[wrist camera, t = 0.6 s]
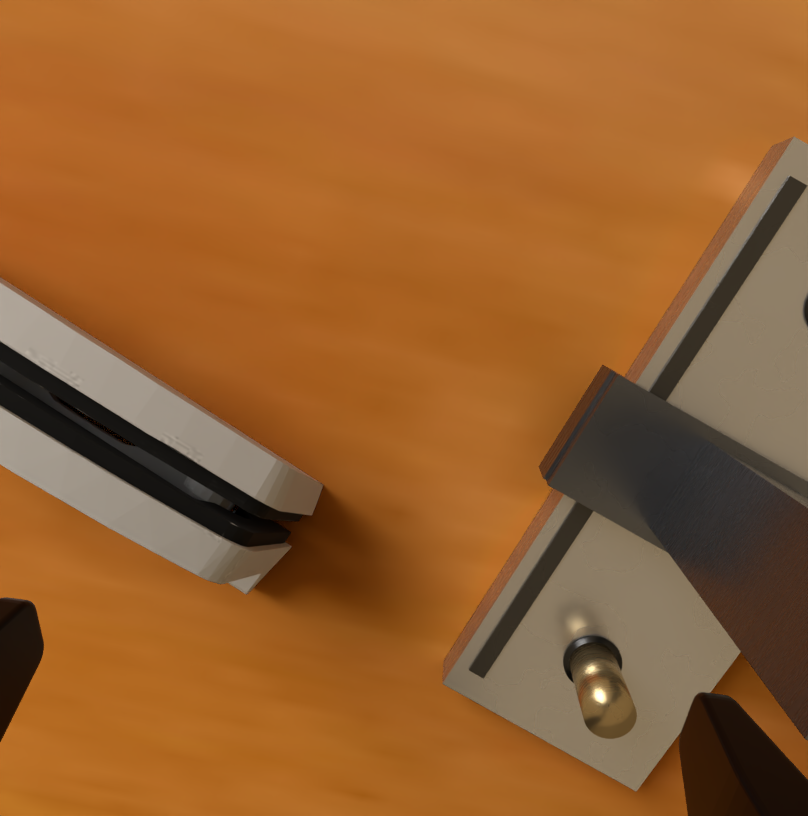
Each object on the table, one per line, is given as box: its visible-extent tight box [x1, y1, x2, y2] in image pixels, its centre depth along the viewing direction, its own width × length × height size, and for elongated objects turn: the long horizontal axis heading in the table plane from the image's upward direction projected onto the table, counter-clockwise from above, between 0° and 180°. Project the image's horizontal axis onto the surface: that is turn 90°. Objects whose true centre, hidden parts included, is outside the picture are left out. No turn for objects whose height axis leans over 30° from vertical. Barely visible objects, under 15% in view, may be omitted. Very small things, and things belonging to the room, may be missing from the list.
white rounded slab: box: [0, 277, 323, 595], centre depth 21 cm, size 17×5×10 cm, turn 57°
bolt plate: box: [443, 137, 808, 791], centre depth 22 cm, size 21×8×4 cm, turn 151°
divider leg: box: [539, 365, 808, 740], centre depth 17 cm, size 4×10×12 cm, turn 61°
